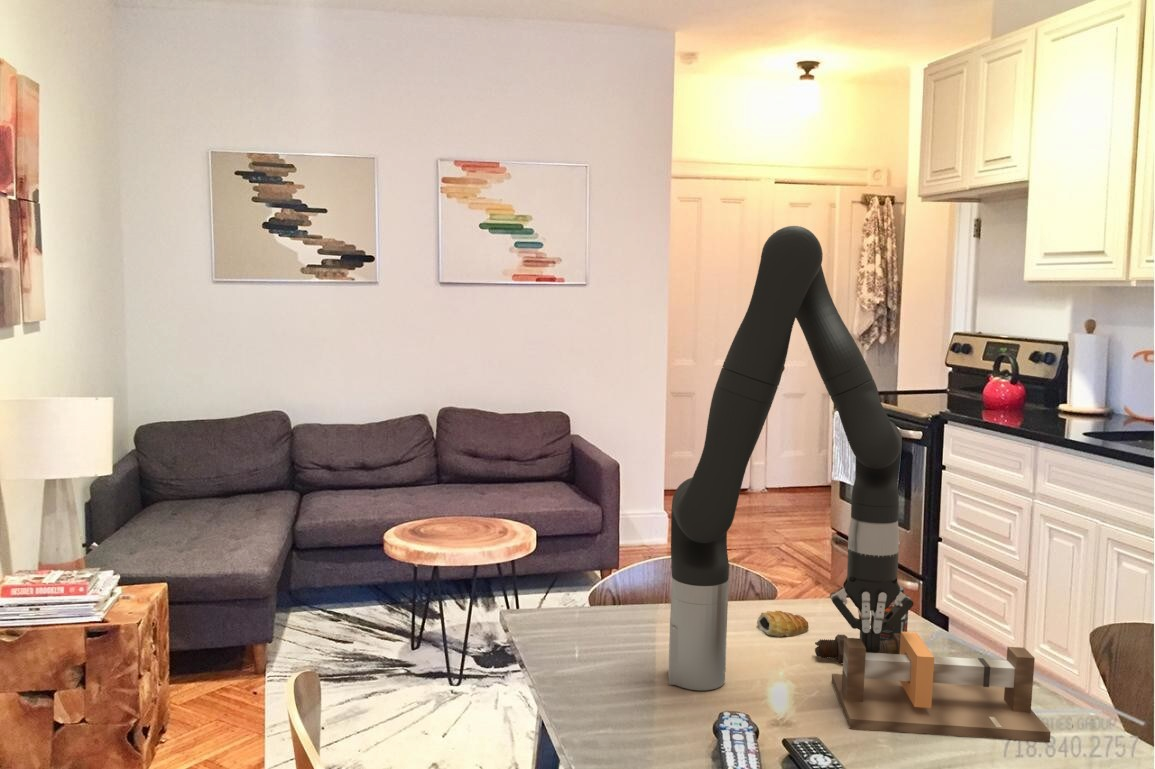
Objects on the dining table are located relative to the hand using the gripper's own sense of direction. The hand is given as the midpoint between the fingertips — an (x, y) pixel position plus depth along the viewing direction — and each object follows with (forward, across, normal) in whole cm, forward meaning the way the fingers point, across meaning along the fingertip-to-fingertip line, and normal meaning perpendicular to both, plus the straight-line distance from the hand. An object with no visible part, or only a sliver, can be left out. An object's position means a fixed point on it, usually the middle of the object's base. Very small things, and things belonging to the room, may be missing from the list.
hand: (869, 653), depth 144 cm
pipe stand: (+7, -9, +4) cm, 12 cm away
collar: (+4, -6, +4) cm, 8 cm away
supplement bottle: (+7, -8, -21) cm, 24 cm away
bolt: (+8, -2, -14) cm, 16 cm away
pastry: (+7, +10, -27) cm, 30 cm away
